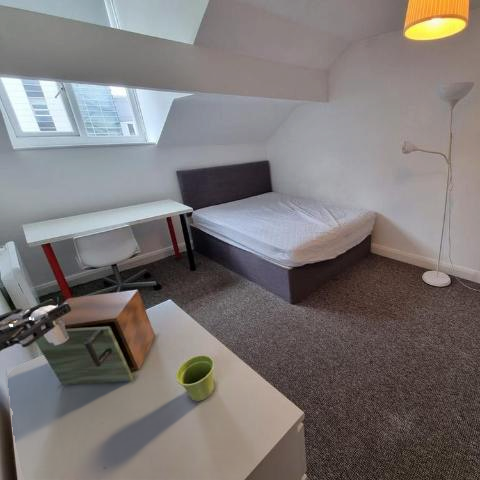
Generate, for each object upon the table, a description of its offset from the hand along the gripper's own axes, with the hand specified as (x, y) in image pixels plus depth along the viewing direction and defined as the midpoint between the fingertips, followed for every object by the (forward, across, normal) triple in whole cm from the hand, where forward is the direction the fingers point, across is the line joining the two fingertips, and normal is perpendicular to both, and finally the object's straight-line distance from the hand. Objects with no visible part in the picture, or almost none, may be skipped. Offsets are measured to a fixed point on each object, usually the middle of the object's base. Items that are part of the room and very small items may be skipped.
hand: (61, 304), depth 61 cm
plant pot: (+10, +24, -32) cm, 41 cm away
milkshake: (-3, 0, -8) cm, 9 cm away
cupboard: (+11, -13, -32) cm, 36 cm away
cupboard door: (0, -7, -31) cm, 32 cm away
